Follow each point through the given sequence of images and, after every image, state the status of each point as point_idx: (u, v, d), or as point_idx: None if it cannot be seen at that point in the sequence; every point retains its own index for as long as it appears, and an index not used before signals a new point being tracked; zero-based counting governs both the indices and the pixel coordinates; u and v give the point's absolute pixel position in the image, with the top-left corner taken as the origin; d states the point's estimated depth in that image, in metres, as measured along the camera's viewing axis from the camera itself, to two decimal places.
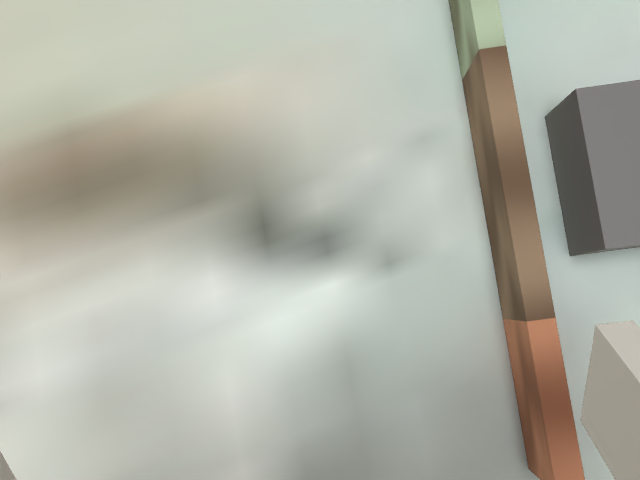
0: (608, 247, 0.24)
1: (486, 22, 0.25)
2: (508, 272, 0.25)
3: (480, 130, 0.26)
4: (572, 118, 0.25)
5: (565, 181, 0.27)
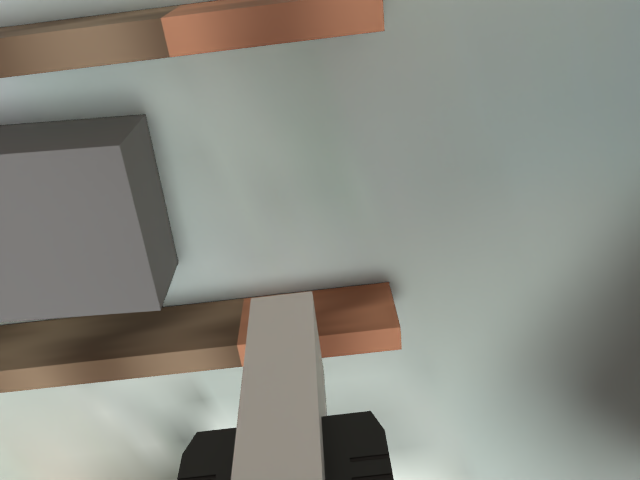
0: (158, 307, 0.23)
1: None
2: None
3: None
4: None
5: None
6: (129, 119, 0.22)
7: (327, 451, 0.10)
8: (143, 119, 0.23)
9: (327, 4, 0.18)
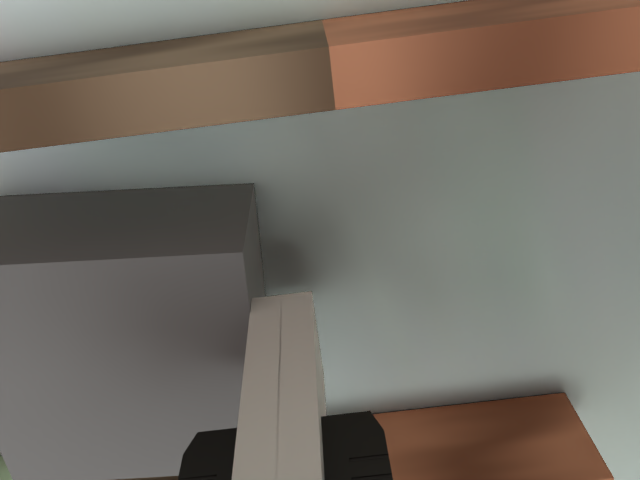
0: None
1: None
2: None
3: None
4: None
5: None
6: (233, 193, 0.15)
7: (327, 451, 0.10)
8: (253, 192, 0.15)
9: (612, 21, 0.10)
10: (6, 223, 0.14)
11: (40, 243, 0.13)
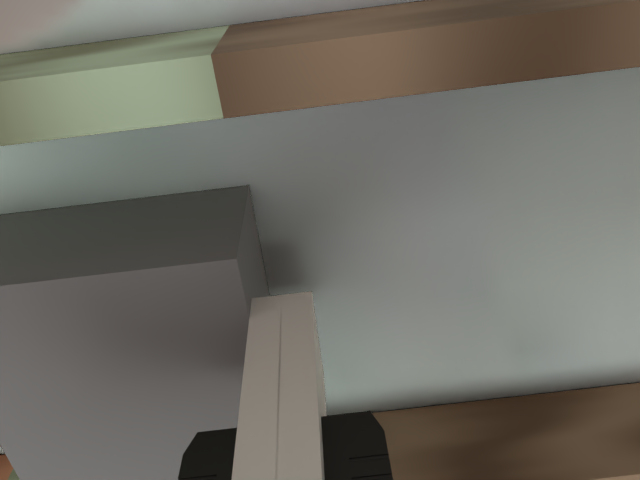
0: None
1: None
2: None
3: None
4: None
5: None
6: (228, 198, 0.15)
7: (327, 451, 0.10)
8: (248, 196, 0.15)
9: None
10: (3, 243, 0.14)
11: (36, 261, 0.13)
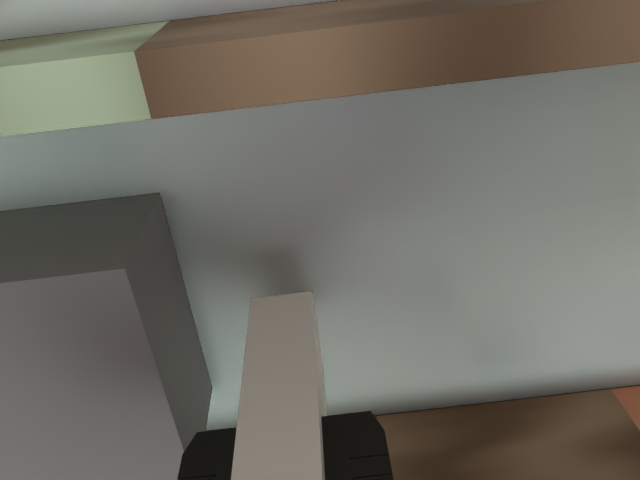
0: None
1: None
2: None
3: None
4: None
5: None
6: (136, 204, 0.14)
7: (327, 451, 0.10)
8: (157, 201, 0.15)
9: None
10: None
11: None
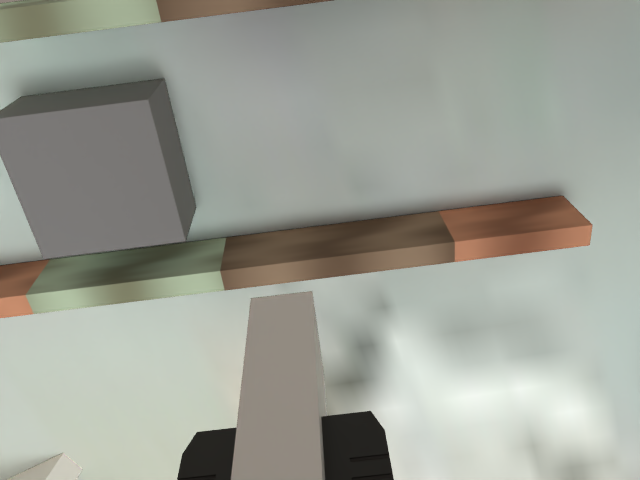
0: (183, 239, 0.27)
1: (200, 284, 0.29)
2: None
3: None
4: None
5: None
6: (151, 82, 0.27)
7: (327, 451, 0.10)
8: (163, 82, 0.27)
9: None
10: (28, 103, 0.26)
11: (46, 107, 0.25)
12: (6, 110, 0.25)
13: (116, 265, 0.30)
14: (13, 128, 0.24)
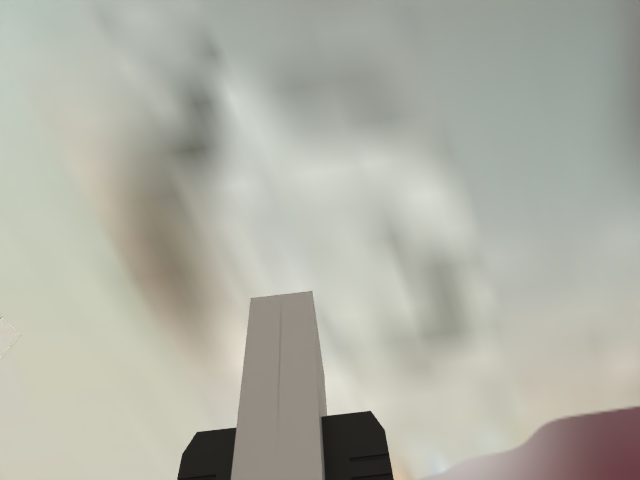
0: None
1: None
2: None
3: None
4: None
5: None
6: None
7: (327, 451, 0.10)
8: None
9: None
10: None
11: None
12: None
13: None
14: None
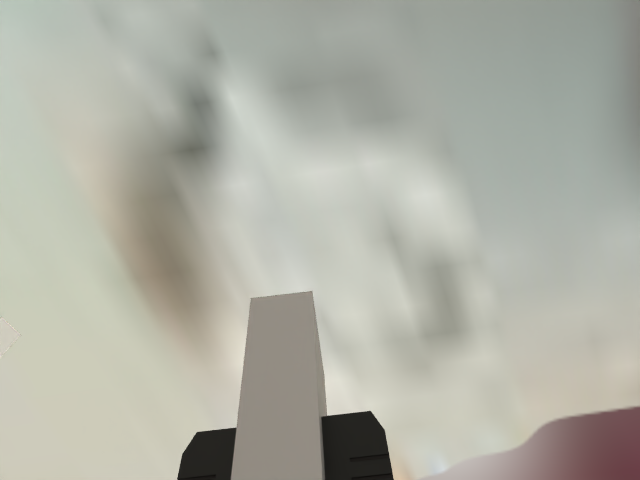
0: None
1: None
2: None
3: None
4: None
5: None
6: None
7: (327, 451, 0.10)
8: None
9: None
10: None
11: None
12: None
13: None
14: None
